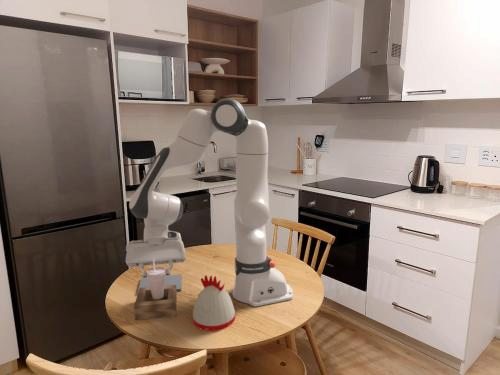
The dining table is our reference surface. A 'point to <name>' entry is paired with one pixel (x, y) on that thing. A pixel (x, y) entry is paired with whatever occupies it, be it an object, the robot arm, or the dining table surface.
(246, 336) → the dining table surface
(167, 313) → the holder collar
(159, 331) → the dining table surface
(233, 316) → the kitchen timer
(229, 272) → the dining table surface
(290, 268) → the dining table surface
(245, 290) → the robot arm
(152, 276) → the smoothie
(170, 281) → the rubber mat
